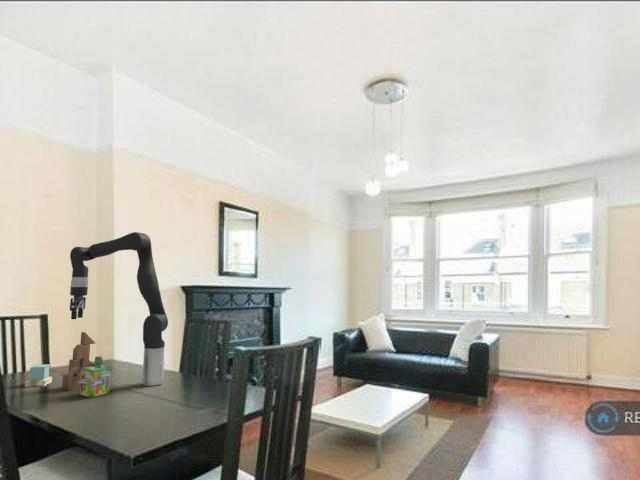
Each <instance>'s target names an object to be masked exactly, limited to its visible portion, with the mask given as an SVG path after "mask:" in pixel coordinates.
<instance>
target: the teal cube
mask: <svg viewBox="0 0 640 480" xmlns="http://www.w3.org/2000/svg"><path fill="white" fill-rule="evenodd" d="M50 367H51V364H50V363H49V364H34V365H32V366H30V369H29V379H28V380H29V381H32V380H45V379H46V378H48V377H50Z"/></svg>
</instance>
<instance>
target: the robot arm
mask: <svg viewBox="0 0 640 480" xmlns="http://www.w3.org/2000/svg"><path fill="white" fill-rule="evenodd" d="M129 250H130V251H135V252H137V253H136V254H137V258H138V267H137V268H138V269H137V272H136V281H137V286H138V290H139V293H140V294H141V296H142V298H143V299H144V301H145V303H146V305H147V307H148V311H149V315H148V316H147V317H145V319H144V321H143V324H142V325H143V326H142V341H143V345H144V346H143V348H144V349H143V363H142V366H143V367H142V379H141V380H142V381H141V382H142V383H141V384H142V386H147V387H151V386H160V385H163V383H164V378H165V346H166V344H165V340H164V339H163V337H162V334H163V332H164V331H166V330H167V328H168V325H169V319H168V316H167V313H166V310H165V307H164V303H163V299H162V296H161V291H160V285H159V281H158V276H157V272H156V268H155V263H154V258H153V249H152V241H151V239H150V236H149V235H148V234H146V233H144V232H143V233H142V232H138V231H136V232H135V231H133V232H131V233H128V234H125V235H123V236H121V237H117V238H115V239H111V240H108V241H103V242H97V243H94V244H91V245H90V246H86V247H84V246H75V247H73V248H72V249H71V250H70V254H69V258H70V263H71V268H72V271H71V280H70V291H69V295H70V296H72V297H71V298H70V303H69V311H70V312H71V313H70V314H71V316H70V319H71V320H77V318H78V319H80V318H81V319H82V318H83V317H84V316H83V314H84V311H85V309H86V299H87V297H85V296H87V295H88V288H89V267H88V266H87V265H85V263H84V262H87V261H89V262H90V261H91V260H94V259H97V258H101V257H106V256H110V255H112V254H115V253H117V252H119V251H129Z"/></svg>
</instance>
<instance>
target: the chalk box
mask: <svg viewBox="0 0 640 480" xmlns="http://www.w3.org/2000/svg"><path fill="white" fill-rule="evenodd" d="M97 362H99V365H97ZM93 364H94V366H90V367H84V368H81V373H80V380H79V382H78V396H83V397H86V398H89V399H91V398H96V397H100V396H103V395H108V394H110V393H111V384H112V383H111V380H112V371H113V370H112V369H113V368H112V367H111V366H108V365H106V364H105V365H103V359H102V360H101V359H96V360H95V359H94V363H93ZM101 364H102V365H101Z"/></svg>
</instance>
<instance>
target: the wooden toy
mask: <svg viewBox="0 0 640 480" xmlns="http://www.w3.org/2000/svg"><path fill="white" fill-rule="evenodd" d="M79 342H80V343H79V344H77V345H75V347H74V348H73V350H72V359H69V360H68V363H69V364H68V372H67V373H66V374H63V375H62V382H61V390H65V391H76V390H79V383H80V373H81V368H84V367H90V366H94V363H92V362H91V360H90V354H91V353H90V352H91V351H90V350H91V345H95V344H96V341H94V340H93V339H92V338H91V336H90V335H88V334H87V333H86V331H81V333H80V341H79ZM96 359H101V360H103V356H102V355H101V356H95V357H94V361H95V360H96ZM97 365H99V362H97ZM101 365H103V363H102V364H101Z"/></svg>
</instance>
